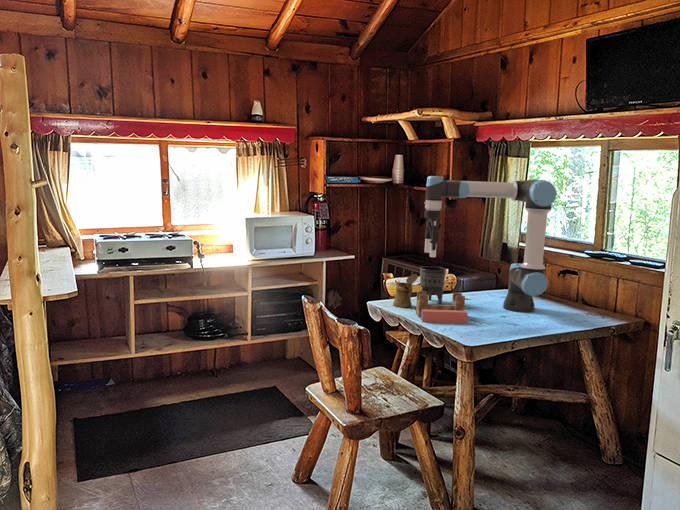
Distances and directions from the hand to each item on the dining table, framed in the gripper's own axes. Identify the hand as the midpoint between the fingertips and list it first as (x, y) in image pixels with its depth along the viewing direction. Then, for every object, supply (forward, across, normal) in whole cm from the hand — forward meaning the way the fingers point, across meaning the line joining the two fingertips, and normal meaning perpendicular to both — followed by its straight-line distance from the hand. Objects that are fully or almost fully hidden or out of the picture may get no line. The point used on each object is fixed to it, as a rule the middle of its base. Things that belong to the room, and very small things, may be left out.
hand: (430, 254), depth 278 cm
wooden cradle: (+28, +6, +5) cm, 29 cm away
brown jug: (+28, -10, -9) cm, 31 cm away
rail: (+28, +16, +5) cm, 32 cm away
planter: (+28, -22, +6) cm, 36 cm away
